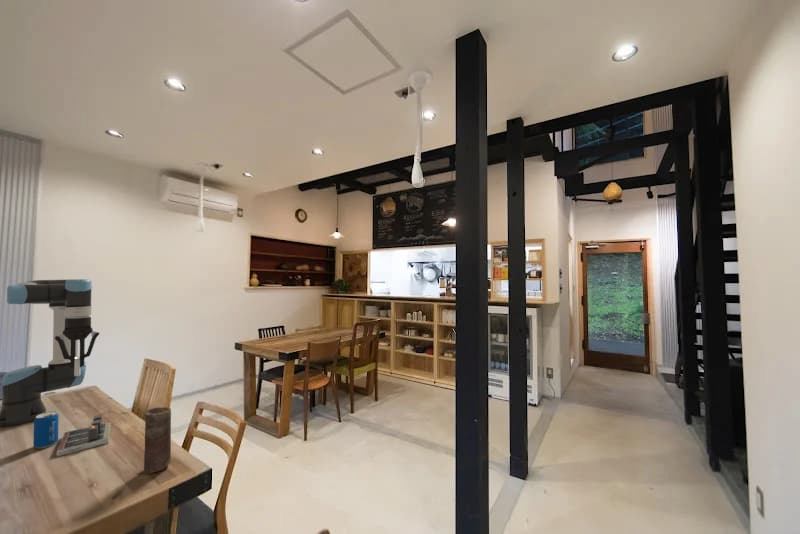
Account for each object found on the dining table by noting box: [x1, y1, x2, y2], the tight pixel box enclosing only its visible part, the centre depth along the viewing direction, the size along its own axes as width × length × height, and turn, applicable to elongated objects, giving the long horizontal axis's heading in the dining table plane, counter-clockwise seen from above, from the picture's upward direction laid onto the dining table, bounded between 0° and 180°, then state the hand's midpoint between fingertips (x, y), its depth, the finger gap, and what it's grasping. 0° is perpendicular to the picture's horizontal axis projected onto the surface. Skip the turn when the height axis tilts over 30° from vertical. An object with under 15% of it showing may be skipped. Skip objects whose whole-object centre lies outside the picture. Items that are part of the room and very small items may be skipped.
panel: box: [56, 421, 112, 457], centre depth 128 cm, size 18×14×2 cm
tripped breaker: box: [88, 425, 98, 440], centre depth 125 cm, size 4×2×4 cm, turn 40°
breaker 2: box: [91, 419, 101, 433], centre depth 130 cm, size 4×2×4 cm, turn 40°
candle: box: [143, 406, 172, 475], centre depth 110 cm, size 8×7×20 cm
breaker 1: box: [93, 414, 103, 426], centre depth 134 cm, size 4×2×4 cm, turn 40°
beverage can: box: [33, 410, 60, 449], centre depth 124 cm, size 6×6×12 cm
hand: (77, 375), depth 128 cm, fingers closed
